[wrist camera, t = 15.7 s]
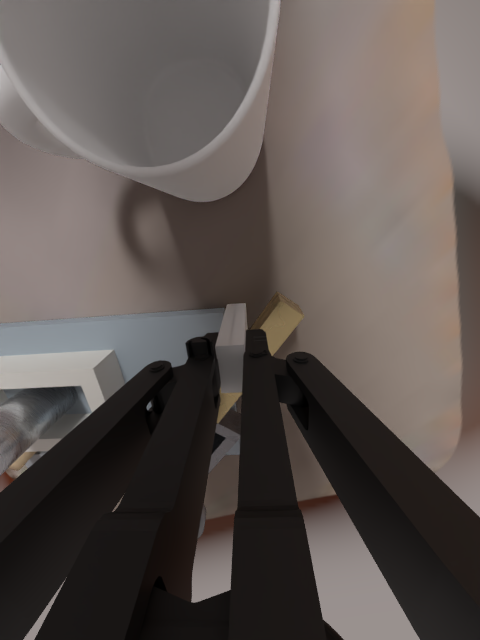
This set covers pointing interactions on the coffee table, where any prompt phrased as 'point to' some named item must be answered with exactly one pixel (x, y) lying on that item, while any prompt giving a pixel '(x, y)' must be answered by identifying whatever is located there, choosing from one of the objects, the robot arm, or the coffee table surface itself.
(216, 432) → the ring lever
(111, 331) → the plate
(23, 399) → the pin
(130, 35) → the mug
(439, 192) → the coffee table surface
